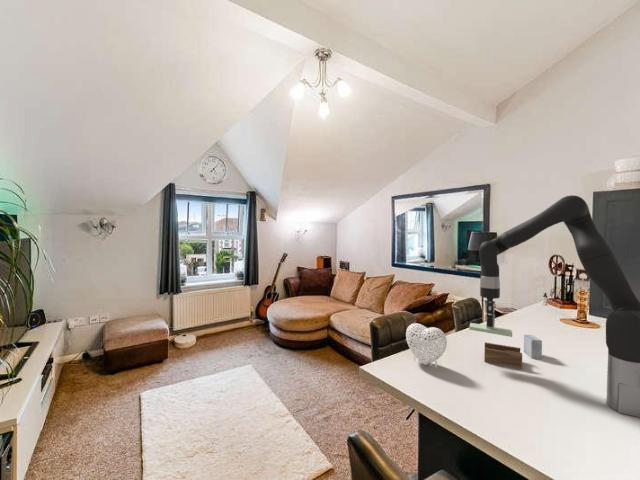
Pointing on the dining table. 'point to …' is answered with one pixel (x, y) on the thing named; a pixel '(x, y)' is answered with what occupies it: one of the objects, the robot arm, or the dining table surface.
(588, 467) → the dining table surface
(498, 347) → the box
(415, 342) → the decorative heart
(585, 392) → the dining table surface
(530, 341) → the medicine box
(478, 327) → the lid
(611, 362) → the robot arm
